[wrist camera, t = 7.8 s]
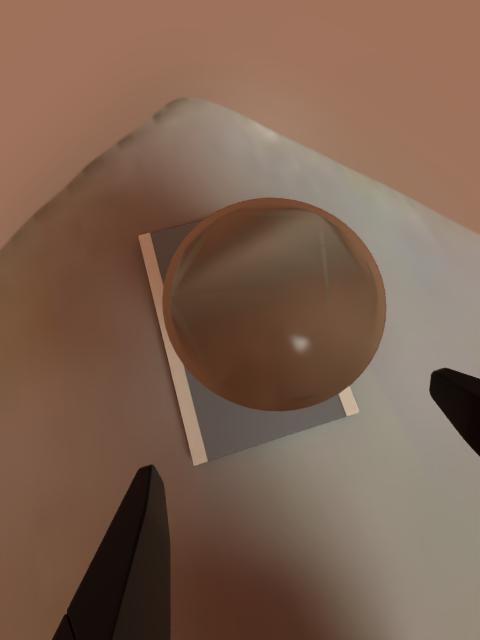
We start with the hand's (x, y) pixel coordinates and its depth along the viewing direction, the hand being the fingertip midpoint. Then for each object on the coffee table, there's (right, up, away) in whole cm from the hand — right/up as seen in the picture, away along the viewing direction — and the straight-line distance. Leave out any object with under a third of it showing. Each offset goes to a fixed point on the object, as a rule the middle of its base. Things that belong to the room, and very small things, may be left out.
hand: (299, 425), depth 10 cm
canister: (-1, +1, +10) cm, 10 cm away
